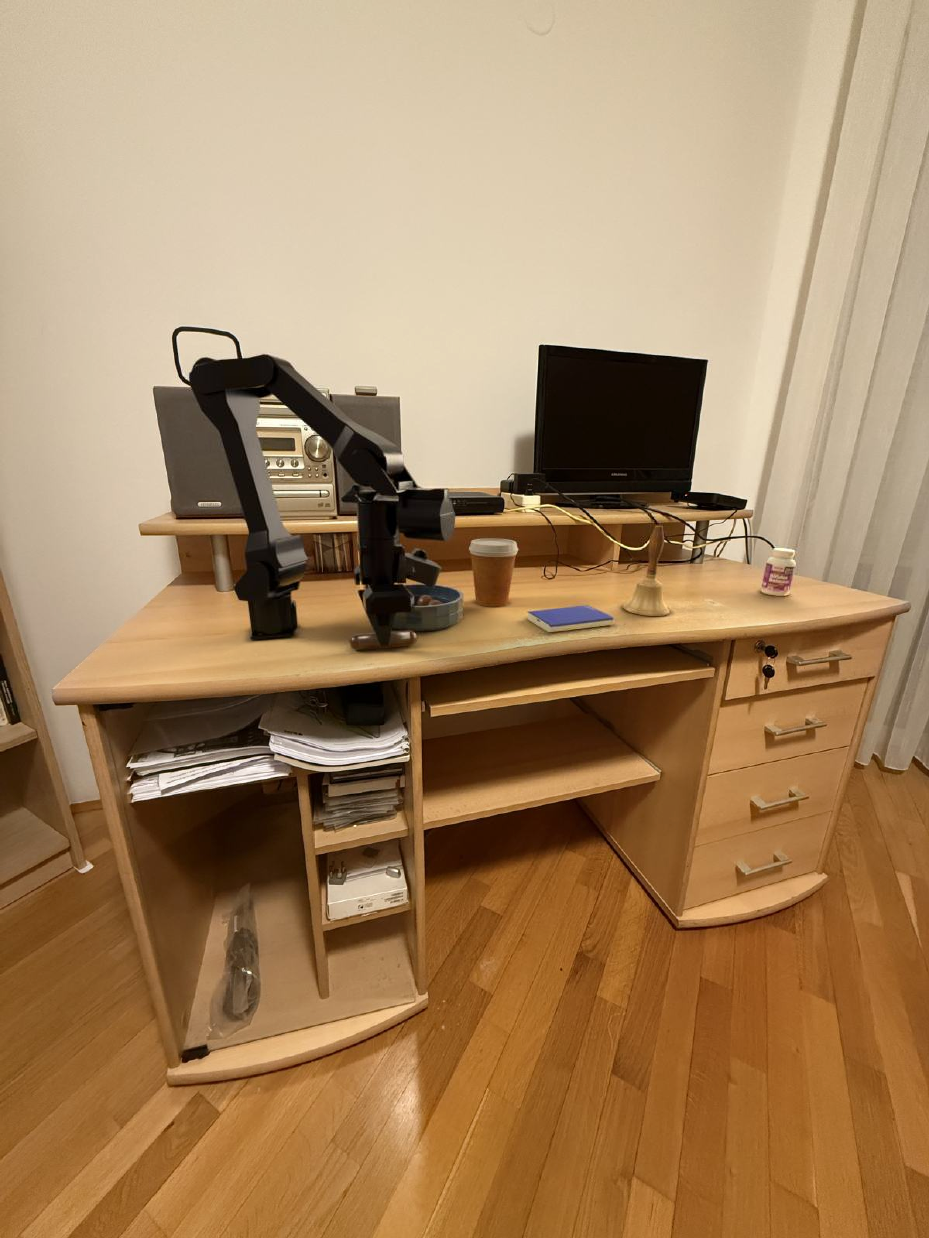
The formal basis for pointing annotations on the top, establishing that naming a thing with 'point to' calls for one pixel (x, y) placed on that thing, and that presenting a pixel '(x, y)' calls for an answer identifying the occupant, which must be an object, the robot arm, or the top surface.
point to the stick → (372, 642)
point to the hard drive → (569, 618)
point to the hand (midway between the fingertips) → (383, 641)
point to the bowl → (431, 609)
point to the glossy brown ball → (424, 600)
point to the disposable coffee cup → (492, 569)
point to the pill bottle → (779, 572)
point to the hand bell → (650, 582)
